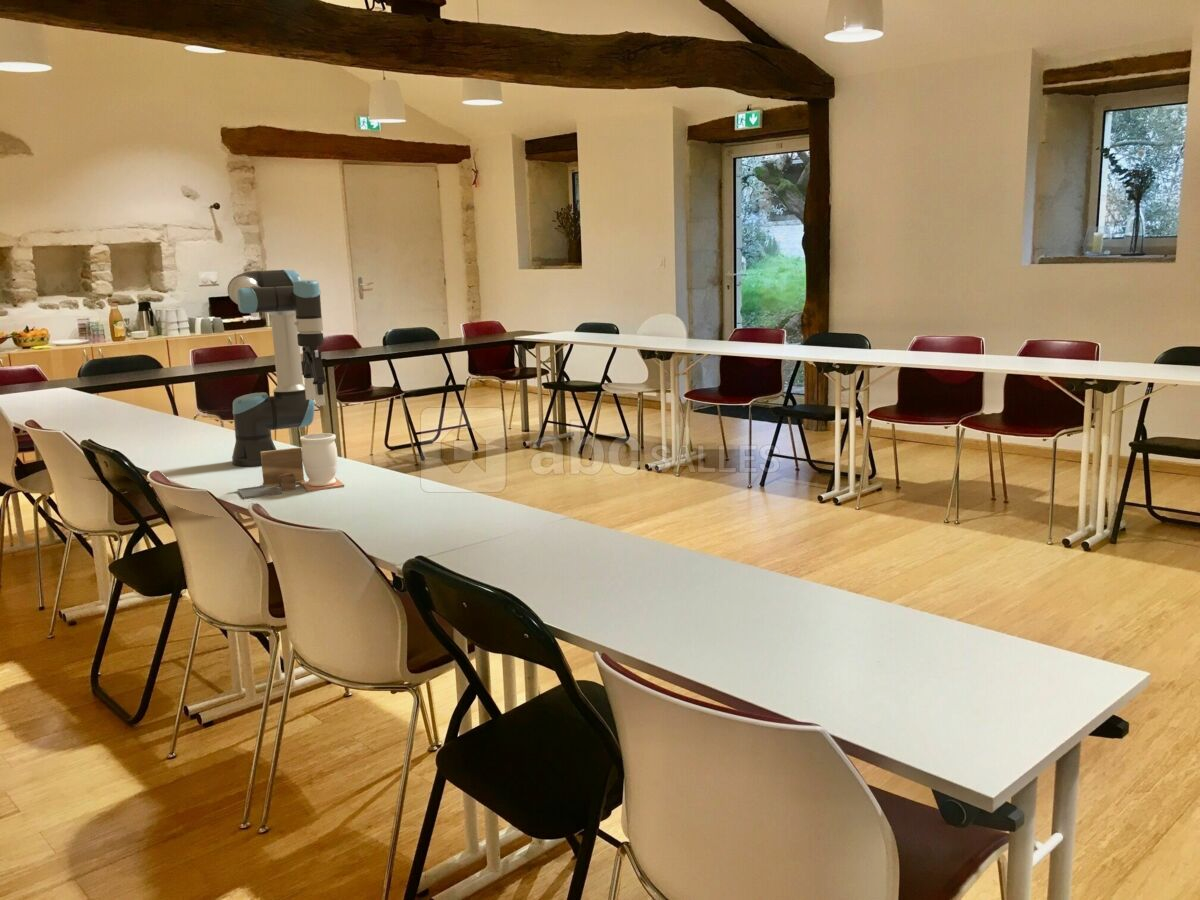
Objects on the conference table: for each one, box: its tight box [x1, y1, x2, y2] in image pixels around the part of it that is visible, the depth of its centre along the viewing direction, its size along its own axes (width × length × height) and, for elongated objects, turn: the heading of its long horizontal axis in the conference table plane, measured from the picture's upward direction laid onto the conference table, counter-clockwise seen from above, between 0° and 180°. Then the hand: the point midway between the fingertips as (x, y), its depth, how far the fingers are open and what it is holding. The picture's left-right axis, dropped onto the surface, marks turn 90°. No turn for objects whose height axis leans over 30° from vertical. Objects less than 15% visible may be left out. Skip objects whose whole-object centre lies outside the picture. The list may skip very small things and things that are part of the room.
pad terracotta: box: [299, 477, 345, 492], centre depth 309 cm, size 11×11×1 cm
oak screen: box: [261, 446, 306, 488], centre depth 310 cm, size 5×12×11 cm, turn 118°
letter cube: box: [279, 473, 297, 492], centre depth 305 cm, size 4×4×4 cm
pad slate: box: [236, 485, 283, 500], centre depth 301 cm, size 11×11×1 cm
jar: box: [300, 432, 338, 486], centre depth 307 cm, size 11×10×15 cm
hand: (315, 402), depth 303 cm, fingers open, 13 cm apart
